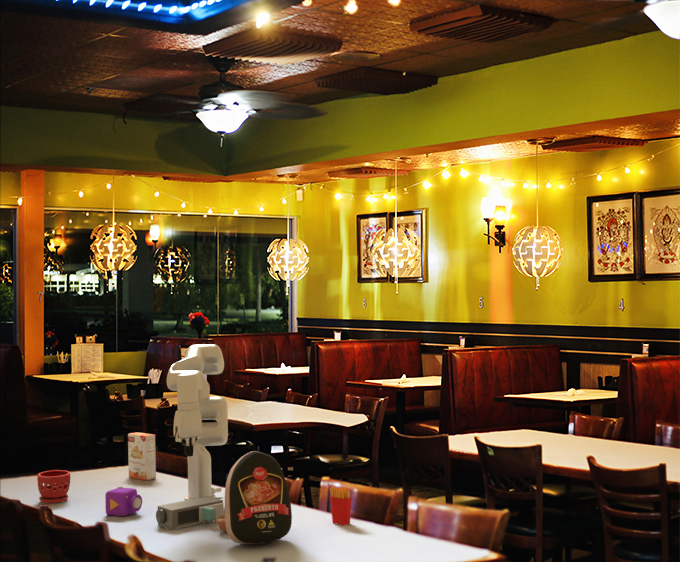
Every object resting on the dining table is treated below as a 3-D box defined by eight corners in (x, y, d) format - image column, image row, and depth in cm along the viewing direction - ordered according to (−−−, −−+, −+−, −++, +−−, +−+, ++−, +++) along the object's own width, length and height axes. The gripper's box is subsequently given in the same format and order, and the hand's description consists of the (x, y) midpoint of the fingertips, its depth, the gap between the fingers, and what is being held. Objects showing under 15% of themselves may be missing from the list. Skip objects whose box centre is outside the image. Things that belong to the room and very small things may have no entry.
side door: (221, 516, 320) (221, 502, 320) (231, 519, 316) (231, 505, 316) (199, 521, 314) (198, 507, 314) (208, 524, 309) (208, 510, 309)
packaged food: (234, 554, 274) (233, 460, 275) (218, 539, 292) (216, 451, 293) (298, 545, 283) (296, 454, 284) (279, 531, 301) (277, 445, 302)
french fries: (353, 524, 309) (353, 487, 310) (345, 526, 306) (345, 489, 307) (335, 520, 316) (334, 484, 316) (327, 522, 312) (326, 486, 313)
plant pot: (30, 504, 354) (30, 474, 355) (52, 497, 367) (52, 469, 367) (56, 506, 349) (55, 476, 350) (77, 499, 362) (76, 470, 362)
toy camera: (135, 518, 326) (135, 491, 326) (102, 517, 329) (102, 490, 329) (147, 511, 337) (147, 485, 337) (115, 510, 339) (115, 485, 340)
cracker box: (127, 477, 407) (127, 433, 407) (138, 475, 411) (137, 431, 412) (145, 480, 397) (145, 435, 398) (156, 478, 402) (155, 434, 403)
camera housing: (208, 514, 329) (208, 496, 329) (224, 519, 321) (223, 500, 321) (154, 526, 313) (153, 506, 313) (168, 531, 305) (168, 511, 305)
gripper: (199, 403, 326) (200, 451, 326) (165, 408, 316) (166, 457, 316) (210, 405, 320) (211, 454, 320) (175, 410, 310) (176, 460, 310)
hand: (188, 455), depth 318 cm, fingers closed
